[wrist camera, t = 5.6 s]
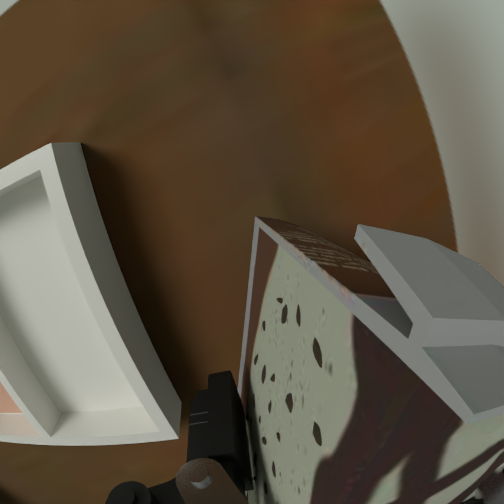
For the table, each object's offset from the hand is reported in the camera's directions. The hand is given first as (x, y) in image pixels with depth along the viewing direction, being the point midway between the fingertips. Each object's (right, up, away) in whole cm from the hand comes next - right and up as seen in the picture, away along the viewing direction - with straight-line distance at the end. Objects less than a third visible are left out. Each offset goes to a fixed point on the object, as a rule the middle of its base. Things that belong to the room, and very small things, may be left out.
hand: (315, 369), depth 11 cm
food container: (+1, +1, +2) cm, 3 cm away
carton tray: (-17, 0, +5) cm, 18 cm away
